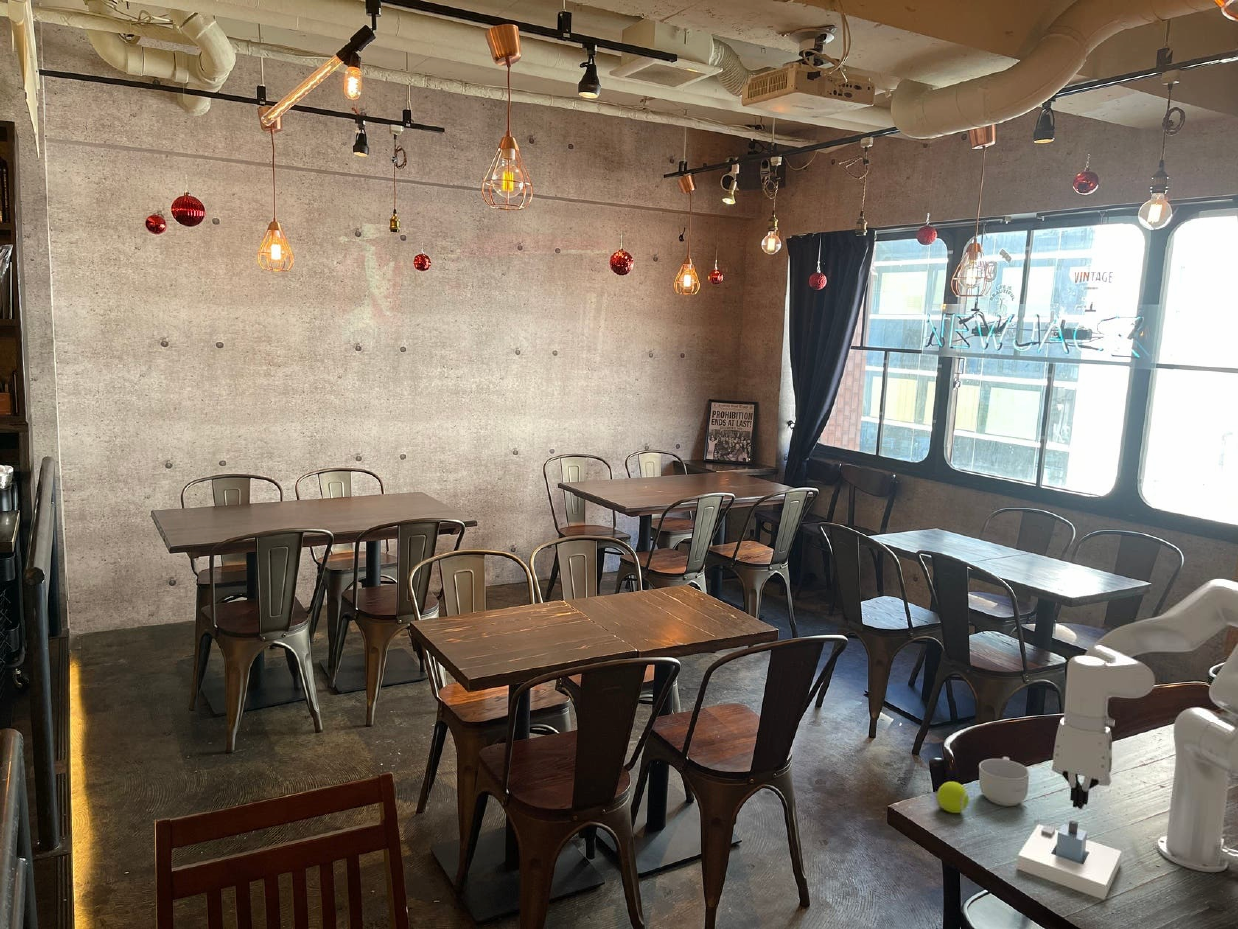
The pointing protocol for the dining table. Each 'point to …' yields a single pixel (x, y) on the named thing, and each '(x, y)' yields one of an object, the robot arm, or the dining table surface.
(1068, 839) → the plug
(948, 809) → the tennis ball
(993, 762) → the teacup
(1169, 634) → the robot arm
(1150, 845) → the dining table surface
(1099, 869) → the socket
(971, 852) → the dining table surface
